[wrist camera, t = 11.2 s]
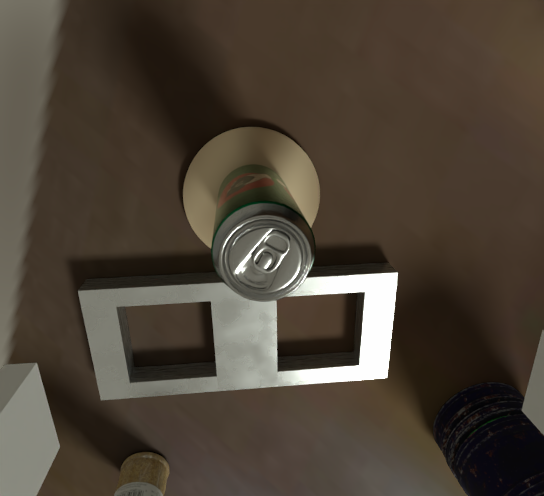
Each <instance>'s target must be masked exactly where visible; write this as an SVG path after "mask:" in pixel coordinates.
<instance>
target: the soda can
mask: <svg viewBox="0 0 544 496" xmlns="http://www.w3.org/2000/svg"><path fill="white" fill-rule="evenodd" d="M315 247H316V246H315V238H314V235H313V232H312V230H311V228H310V226H309V224H308V222H307V220H306V219H305V217H304V215H303V214H302V212H301V210H300V208H299V207H298V205H297V203H296V202H295V200H294V198H293V196H292V195H291V193H290V191H289V190H288V188H287V186H286V184H285V183H284V181H283V180H282V178H281V177H280V176H279V175H278V174H277V173H276V172H275V171H273V170H272V169H270V168H268V167H266V166H262V165H257V164H249V165H244V166H241V167H238V168H237V169H235V170H233V171H232V172H231V173H229V174H228V175H227V176H226V177H225V179H224V180H223V182H222V184H221V186H220V189H219V192H218V199H217V207H216V215H215V222H214V230H213V237H212V246H211V256H212V262H213V266H214V268H215V270H216V273H217V274H218V276H219V277H220V279H221V280H222V281H223V282H224V283H225V284H226V285H227V286H228V287H229V288H231V289H232V290H233V291H234V292H235V293H237V294H238V295H240V296H242V297H244V298H246V299H249V300H253V301H259V302H269V301H275V300H279V299H281V298H284V297H286V296H288V295H290V294H291V293H293V292H294V291H295V290H297V289H298V288H299V287H300V286H301V284H302V283H303V282H304V281H305V279H306V277H307V275H308V273H309V271H310V269H311V267H312V265H313V262H314V258H315Z"/></svg>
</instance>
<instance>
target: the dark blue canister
mask: <svg viewBox="0 0 544 496" xmlns="http://www.w3.org/2000/svg"><path fill="white" fill-rule="evenodd" d="M524 399H525V398H524V397H523V395H522V394H521V393H520V392H519V391H517V390H516V389H515V388H513V387H512V386H510V385H507V384H503V383H498V382H488V383H481V384H477V385H473V386H471V387H468V388H466V389H464V390H462V391H460V392H458V393H457V394H455V395H454V396H453V397H452V398H450V399H449V400H448V401H447V402H446V403H445V404H444V405H443V406H442V408H441V409H440V411H439V412H438V414H437V416H436V418H435V422H434V427H433V434H434V438H435V441H436V443H437V444H438V446H439V448H440V449H441V450H442V452H443V455H444V456H445V458H446V462H447V464H448V466H449V467H450V469H451V471H452V473H453V474H454V476H455V477H456V478H457V480H458V482H459V484H460V485H461V487H462V488H463V490H464V491H465V493H466V494H467V495H468V496H544V435H543V434H542V433H541V432H540V431H539V430H538V428H537V427H536V426H535V425H534V424H533V423H532V422H531V421H530V419H529V418H528V417H527V416H526V415H525V414H524V413H523V412H522V407H523V403H524Z"/></svg>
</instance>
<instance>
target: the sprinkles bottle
mask: <svg viewBox="0 0 544 496" xmlns="http://www.w3.org/2000/svg"><path fill="white" fill-rule="evenodd" d="M120 474H121V475H120V478H119V482H118V485H117V489H116V492H115V495H114V496H164V493H165V488H166V481H167V478H168V475H169V465H168V463H167V461H166V460H165V458H163V457H162V456H160V455H158V454H156V453H152V452H141V453H136V454H133V455H131V456H129V457H128V458H127V459H126V460H125V461H124V462H123V464H122V466H121V470H120Z"/></svg>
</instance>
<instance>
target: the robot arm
mask: <svg viewBox="0 0 544 496" xmlns="http://www.w3.org/2000/svg"><path fill="white" fill-rule="evenodd" d="M522 412H523V413H524V414H525V415H526V416H527V417H528V418H529V419H530V421H531V422H532V423H533V424H534V425H535V426H536V427H537V428H538V430H539V431H540V432H541V433H542V434H543V435H544V330H543V331H542V335H541V338H540V342H539V346H538V350H537V354H536V357H535V361H534V365H533V369H532V373H531V376H530V380H529V384H528V388H527V392H526V395H525V399H524V403H523V407H522ZM59 448H60V445H59V441H58V438H57V434H56V430H55V427H54V423H53V420H52V416H51V412H50V409H49V405H48V401H47V398H46V394H45V391H44V387H43V383H42V380H41V376H40V373H39V369H38V365H37V363H25V364H9V365H4V366H3V367H2V368H1V369H0V496H36V495H37V493H38V491H39V489H40V487H41V485H42V483H43V481H44V479H45V477H46V475H47V473H48V471H49V469H50V467H51V464H52V462H53V460H54V458H55V456H56V454H57V452H58V450H59Z"/></svg>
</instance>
